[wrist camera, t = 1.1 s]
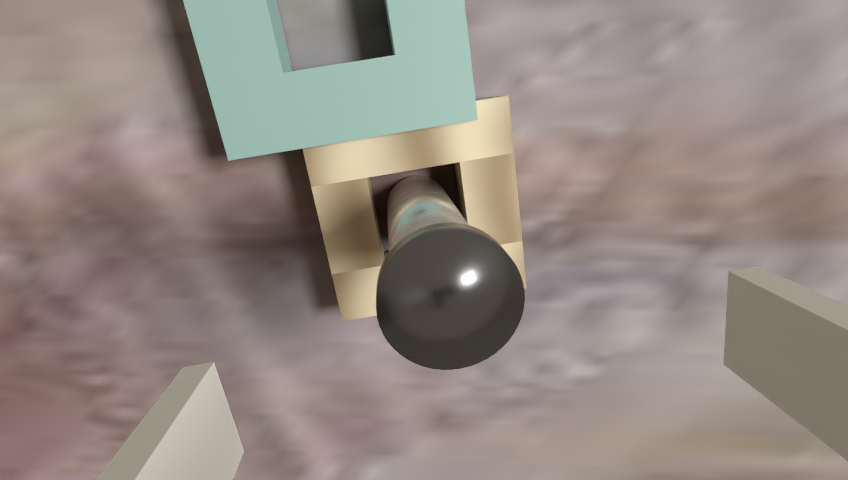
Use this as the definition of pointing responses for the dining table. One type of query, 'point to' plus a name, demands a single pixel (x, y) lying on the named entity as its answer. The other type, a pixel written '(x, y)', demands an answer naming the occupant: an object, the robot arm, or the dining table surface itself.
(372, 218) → the mount
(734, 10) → the dining table surface
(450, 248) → the pin
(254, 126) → the dock
